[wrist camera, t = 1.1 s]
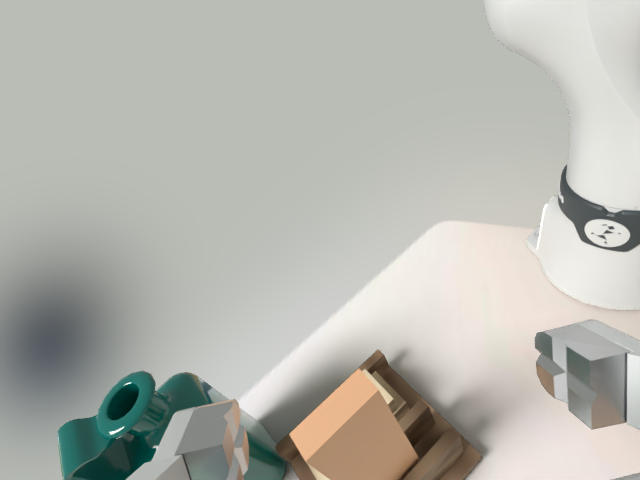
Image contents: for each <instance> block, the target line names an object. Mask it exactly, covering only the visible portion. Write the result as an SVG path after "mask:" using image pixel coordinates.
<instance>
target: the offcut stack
mask: <svg viewBox="0 0 640 480" xmlns="http://www.w3.org/2000/svg"><path fill="white" fill-rule="evenodd" d="M362 372H363V373H364V374H365V375H366V376H367V378H368V379H369V380H370V381H371V382H372V383H373V384H374V385H375V386H376V387H377V388H378V389H379V391H380V393H381V394H382V396H383V398H384V399H385V401H386V403H387V404H388V406H389V408H390V410H391V411H392V413H393V415H394V416H395V418H396V420H397V421H398V422H399V421H400V420H401V419H402V418H403V417H404V416H405V414H406V413H407V412H408V411H409V410H410V409H409V407H408V405H407V403H406V402H405V401H404V400H403V399H402V398H401V396H400V395H399V394H398V393H397V392H396V391H395V390H394V389H393V388H392V387H391V386H390V385H389V384H388V383H387V382H386V381H385V380H384V379H383V378H382V377H381V376H380V375H379V374H378V373H377V372H376V371H375V372H374V373H373V374H372V375H371V374H370V373H369V372H368V371H367V370H366V369H364V370H363V371H362ZM307 464H308V463H307ZM308 466H309V467H310V469H311V471H312V473H313V474H314V476H315V478H316V479H317V480H330V479H328V478H327V477H326V476H324V475H323V474H322V473H320V472H319V471H317V470H316V469H315V468H313V467H312V466H311V465H309V464H308Z"/></svg>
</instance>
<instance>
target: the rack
mask: <svg viewBox="0 0 640 480" xmlns="http://www.w3.org/2000/svg"><path fill="white" fill-rule="evenodd" d="M359 369H360V370H361V371H363V370H364V369H366V370H367V371H368V372H369V373H370V374H371V375H372V374H373V373H374V372H375V371H376V372H377V373H378V374H379V375H380V376H381V377H382V378H383V379H384V380H385V381H386V382H387V383H388V384H389V385H390V386H391V387H392V388H393V389H394V390H395V391H396V392H397V393H398V394H399V395H400V396H401V398H402V399H403V400H404V401H405V402H406V403H407V405H408V407H409V409H410V410H409V411H408V412H407V413H406V414H405V416H404V417H403V418H402V419H401V420H400V421H399V422H398V423H399V425H400V427H401V428H402V430H403V432H404V433H405V435H406V437H407V438H408V440H409V442H410V444H411V445H412V447H413V449H414V450H415V452H416V454H417V455H418V457H419V459H420V461H419V462H418V463H417V464H416V466H415V467H414V468H413V469H412V470H411V471H410V472H409V473H408V474H407V475H406V476H405V478H404V479H403V480H464V479H465V478H466V477H467V476H468V475H469V474H470V472H471V471H472V470H473V469H474V468H475V467H476V466H477V464H478V463H479V462H480V461H481V460H482V456H481V454H480V453H479V452H478V451H477V450H476V449H475V448H474V447H473V446H472V445H471V444H470V443H469V442H468V441H467V440H466V439H464V438H463V437H462V436H461V435H460V434H459V433H458V432H457V431H456V430H455V429H454V428H453V427H452V426H451V425H450V424H449V423H448V422H447V421H446V420H445V419H444V418H443V417H442V416H441V415H440V414H439V413H438V412H436V411H435V410H434V409H433V408H432V407H431V406H430V405H429V404H428V403H427V402H426V401H425V400H424V399H423V398H422V397H421V396H420V395H419V394H418V393H417V392H416V391H415V390H414V389H413V388H412V387H411V386H410V385H408V384H407V383H406V382H405V381H404V380H403V379H402V378H401V377H400V376H399V375H398V374H397V373H396V372H395V371H394V370H393V369H392V368H391V367H390V366H389V364H388V362H387V360H386V358H385V356H384V354H382V353H381V352H380V351H379V350H377V351H376V352H375V353H374V354H373V355H372V356H371V357H369V358H368V359H367V360H366V361H365V362H364V363H363V364H362V365H361V366H360V367H359ZM351 375H352V374H351ZM351 375H350V376H351ZM350 376H349V377H350ZM349 377H348V378H349ZM348 378H347V379H348ZM347 379H346V380H347ZM346 380H345V381H346ZM345 381H344V382H345ZM344 382H343V383H344ZM332 393H333V392H332ZM332 393H331V394H332ZM331 394H330V395H331ZM330 395H329V396H330ZM329 396H328V397H329ZM328 397H327V398H328ZM327 398H326V399H327ZM326 399H325V400H326ZM325 400H324V401H325ZM314 410H315V409H314ZM314 410H313V411H314ZM313 411H312V412H313ZM312 412H311V413H312ZM311 413H310V414H311ZM310 414H309V415H310ZM309 415H308V416H309ZM308 416H307V417H308ZM307 417H306V418H307ZM306 418H305V419H306ZM295 428H296V427H295ZM295 428H294V429H295ZM294 429H293V430H294ZM293 430H292V431H293ZM292 431H291V432H292ZM291 432H290V433H291ZM290 433H289V434H290ZM289 434H288V435H287V436H286V437H285V438H284V439H283V440H282V441H281V442H280V443H279V444H278V445H276V446H275V449H276V451H277V453H278V455H280V456H281V457H282V458H284V459H285V460H287V461H288V462H290V464H291V465H292V467H293V469H294V471H295V473H296V474H297V476H298V478H299V480H317V479H316V478H315V476H314V474H313V473H312V471H311V469H310V467H309V466H308V464H307V463H306V462H305V460H304V458H303V457H302V455H301V453H300V452H299V450H298V448H297V447H296V445H295V443H294V442H293V440H292V438H291V437H290V435H289Z"/></svg>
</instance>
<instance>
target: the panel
mask: <svg viewBox="0 0 640 480" xmlns="http://www.w3.org/2000/svg"><path fill="white" fill-rule="evenodd" d="M289 435H290V437H291V438H292V440H293V442H294V443H295V445H296V447H297V448H298V450H299V452H300V453H301V455H302V457H303V458H304V460H305V462H306V463H308V464H309V465H311V466H312V467H313V468H315V469H316V470H317V471H319V472H320V473H322V474H323V475H324V476H326V477H327V478H328V479H330V480H403V479H404V478H405V476H406V475H407V474H408V473H409V472H410V471H411V470H412V469H413V468H414V467H415V466H416V464H417V463H418V462H419V461H420V459H419V457H418V455H417V454H416V452H415V450H414V449H413V447H412V445H411V444H410V442H409V440H408V438H407V437H406V435H405V433H404V432H403V430H402V428H401V427H400V425H399V423H398V421H397V420H396V418H395V416H394V415H393V413H392V411H391V410H390V408H389V406H388V404H387V403H386V401H385V399H384V398H383V396H382V394H381V393H380V391H379V389H378V388H377V387H376V386H375V385H374V384H373V383H372V382H371V381H370V380H369V379H368V378H367V376H366V375H365V374H364V373H363V372H362V371H361V370H360V369H359V368H358V369H357V370H356V371H355V372H354V373H353V374H352V375H351V376H350V377H349V378H348V379H347V380H346V381H345V382H344V383H342V384H341V385H340V386H339V387H338V388H337V389H336V390H335V391H334V392H333V393H332V394H331V395H330V396H329V397H328V398H327V399H326V400H325V401H323V402H322V403H321V404H320V405H319V406H318V407H317V408H316V409H315V410H314V411H313V412H312V413H311V414H310V415H309V416H308V417H307V418H306V419H304V420H303V421H302V422H301V423H300V424H299V425H298V426H297V427H296V428H295V429H294V430H293V431H292V432H291V433H290V434H289Z"/></svg>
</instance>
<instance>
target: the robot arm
mask: <svg viewBox="0 0 640 480" xmlns="http://www.w3.org/2000/svg"><path fill="white" fill-rule="evenodd" d="M484 8H485V13H486V17H487V21H488V23H489V26H490V28H491V30H492V32H493V34H494V35H495V37H496V38H497V39H498V41H500V43H501V44H502V45H503V46H505V47H506V48H507V49H508V50H510V51H512V52H515V53H517V54H519V55H521V56H523V57H525V58H527V59H528V60H530V61H531V62H533V63H534V64H536V65H537V66H538V67H539V68H541V69H542V70H543V71H544V72H545V73H546V74H547V75H548V76H549V77H550V78H551V79H552V80H553V82H554V83H555V84H556V85H557V87H558V88H559V90H560V92H561V93H562V95H563V97H564V100H565V102H566V105H567V108H568V113H569V127H570V129H569V133H570V134H569V153H568V162H567V165H566V166H565V168H564V169H563V172H562V175H561V179H560V181H559V186H558V195H557V196H556V195H554V196H552V198H551V199H550V202H549V203H547V204H545V206H544V209H543V214H542V219H541V225H540V226H539V227H537V228H536V229H535V230H534V231H533V232H532V233H531V234H530V235H529V236H528V237H527V241H526V245H527V247H528V248H529V249H530V250H531V251H532V252H533V253H534V254H535V255H536V256H537V257H538V259H539V261H540V264H541V267H542V270H543V272H544V274H545V275H546V277H547V278H548V279H549V280H550V282H551V283H552V284H553V285H555V286H556V287H557V288H558V289H559V290H561V291H562V292H564V293H565V294H567V295H569V296H571V297H572V298H575V299H577V300H579V301H581V302H584V303H587V304H590V305H593V306H597V307H602V308H607V309H614V310H640V0H484ZM535 348H536V349H537V350H538V351H539V352H540V353H541V355H540V356H539V358H538V360H537V362H536V367H537V375H538V377H539V379H540V381H541V384H542V385H543V387H544V388H545V389H546V391H547V392H548V393H549V394H550V395H552V396H553V397H554V398H555V399H558V400H561V401H564V402H566V403H568V408H569V411H570V412H571V413H573V414H574V415H575V416H576V417H577V418H579V419H580V420H581V421H582V422H583V423H584V424H586V425H587V426H588V427H589V428H590V429H597V428H602V427H607V426H612V425H617V424H621V423H626V422H627V425H630V426H632V427H634V428H636V429H639V430H640V341H639V340H637V339H635V338H633V337H631V336H629V335H627V334H625V333H623V332H621V331H619V330H616V329H614V328H612V327H610V326H608V325H606V324H604V323H602V322H600V321H598V320H586V321H582V322H579V323H575V324H572V325H568V326H564V327H560V328H556V329H552V330H547V331H543V332H539V333H537V334H536V337H535ZM240 417H241V411H240V408H239V404H238V402H237V401H236V400H235V399H234V400H228V401H223V402H218V403H213V404H208V405H203V406H198V407H193V408H188V409H184V410H180V411H177V412H176V413H174V415H173V417H172V419H171V421H170V423H169V425H168V427H167V429H166V431H165V434H164V436H163V438H162V440H161V442H160V444H159V446H158V448H157V450H156V452H155V455H154V457H153V459H152V461H151V462H147V463H144V464H143V465H142V466H141V467H140V468H138V469H137V470H136V471H135V472H134V473H133V474H132V475H130V476H129V477H128V478H127V479H126V480H244V478H243V475H244V474H245V473H246V471H247V470H248V464H249V445H248V438H247V434H246V430H245V428H244V427H243V426H242V425H240V424H239V422H240ZM612 480H640V473H636V474H632V475H628V476H624V477H620V478H616V479H612Z"/></svg>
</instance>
